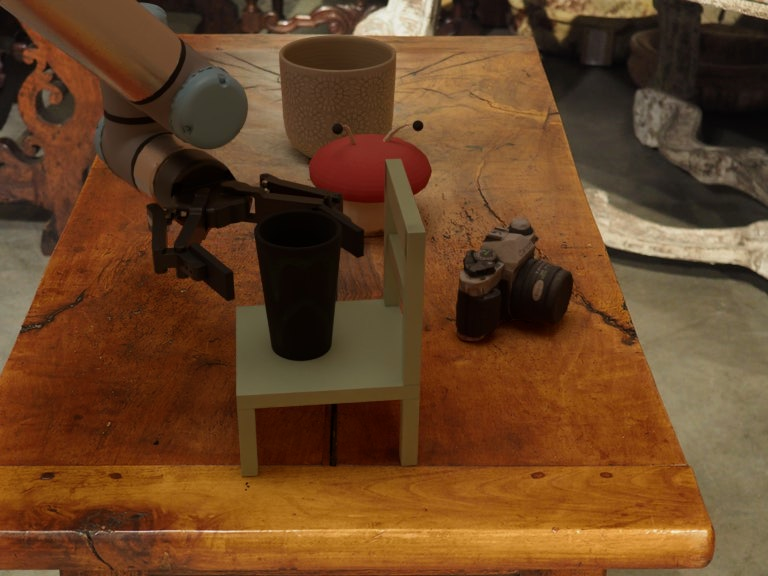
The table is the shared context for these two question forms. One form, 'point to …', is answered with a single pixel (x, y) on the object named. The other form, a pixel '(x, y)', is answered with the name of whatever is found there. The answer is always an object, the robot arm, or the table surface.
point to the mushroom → (367, 172)
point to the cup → (299, 280)
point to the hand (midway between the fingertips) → (298, 264)
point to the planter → (336, 88)
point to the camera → (509, 283)
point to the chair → (348, 340)
